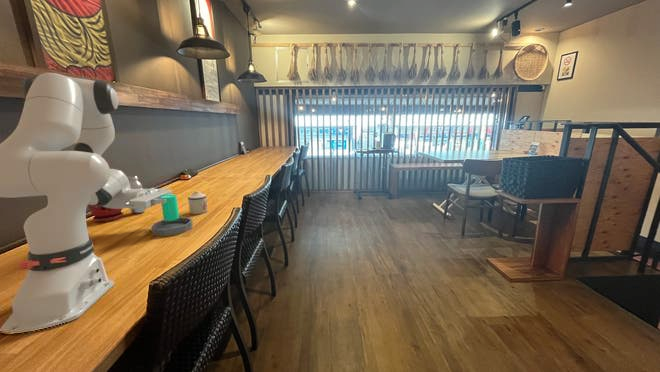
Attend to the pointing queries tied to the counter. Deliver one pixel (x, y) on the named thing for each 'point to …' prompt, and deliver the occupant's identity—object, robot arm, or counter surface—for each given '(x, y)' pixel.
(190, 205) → the teacup with lid
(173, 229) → the dish
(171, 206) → the candle
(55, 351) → the counter surface
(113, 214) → the plant pot
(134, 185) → the plastic bottle
